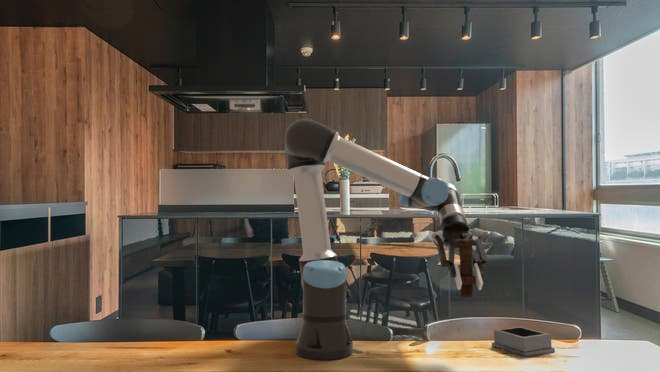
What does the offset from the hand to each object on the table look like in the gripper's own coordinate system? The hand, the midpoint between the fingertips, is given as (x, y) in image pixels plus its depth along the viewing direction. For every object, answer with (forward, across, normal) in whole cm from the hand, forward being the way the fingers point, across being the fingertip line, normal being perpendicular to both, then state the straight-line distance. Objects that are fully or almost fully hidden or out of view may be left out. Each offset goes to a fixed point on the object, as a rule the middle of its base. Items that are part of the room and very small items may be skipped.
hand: (470, 286), depth 105 cm
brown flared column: (0, 0, -5) cm, 5 cm away
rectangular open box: (+5, -16, -20) cm, 26 cm away
